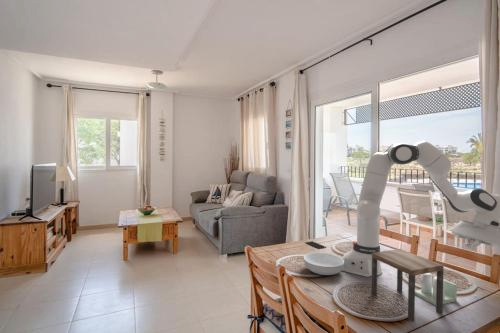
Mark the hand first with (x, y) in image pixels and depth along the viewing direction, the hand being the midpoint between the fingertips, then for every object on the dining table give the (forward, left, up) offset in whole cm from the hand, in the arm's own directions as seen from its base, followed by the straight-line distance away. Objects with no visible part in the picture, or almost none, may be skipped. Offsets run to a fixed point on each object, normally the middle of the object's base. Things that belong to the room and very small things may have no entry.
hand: (469, 247), depth 124 cm
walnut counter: (-27, -27, -20) cm, 43 cm away
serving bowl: (-64, -9, -20) cm, 67 cm away
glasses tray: (-15, -15, -20) cm, 29 cm away
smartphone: (-78, +33, -20) cm, 87 cm away
